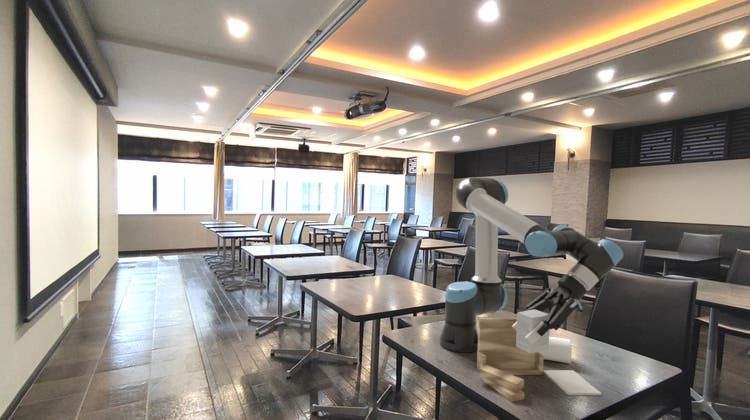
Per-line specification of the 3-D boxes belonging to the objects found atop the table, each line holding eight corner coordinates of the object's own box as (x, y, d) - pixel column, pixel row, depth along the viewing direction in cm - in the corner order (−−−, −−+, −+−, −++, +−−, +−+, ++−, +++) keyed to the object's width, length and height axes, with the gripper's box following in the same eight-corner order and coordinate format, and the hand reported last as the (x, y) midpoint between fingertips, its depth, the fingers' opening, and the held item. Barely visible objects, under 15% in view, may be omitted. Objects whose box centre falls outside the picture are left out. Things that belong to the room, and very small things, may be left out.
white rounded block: (571, 367, 122) (572, 344, 122) (538, 362, 126) (539, 339, 126) (566, 353, 134) (567, 332, 133) (537, 349, 137) (538, 328, 137)
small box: (533, 342, 112) (534, 308, 112) (549, 349, 107) (550, 314, 107) (515, 346, 108) (516, 312, 108) (531, 354, 103) (532, 317, 103)
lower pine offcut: (480, 380, 113) (480, 372, 113) (491, 377, 115) (492, 370, 115) (511, 404, 100) (511, 395, 100) (524, 401, 102) (524, 392, 102)
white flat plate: (543, 372, 118) (543, 370, 118) (572, 372, 119) (572, 370, 119) (567, 395, 104) (567, 393, 104) (601, 395, 105) (601, 393, 105)
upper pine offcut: (479, 376, 111) (479, 368, 110) (486, 372, 113) (486, 364, 113) (516, 392, 102) (517, 384, 102) (523, 387, 104) (524, 379, 104)
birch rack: (476, 367, 120) (477, 316, 120) (536, 367, 121) (538, 317, 121) (480, 374, 116) (482, 321, 115) (543, 374, 117) (545, 322, 116)
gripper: (609, 301, 97) (548, 359, 97) (564, 282, 118) (514, 330, 118) (591, 281, 97) (530, 340, 97) (549, 266, 118) (499, 314, 118)
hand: (521, 334), depth 107 cm, fingers closed on small box, 8 cm apart
